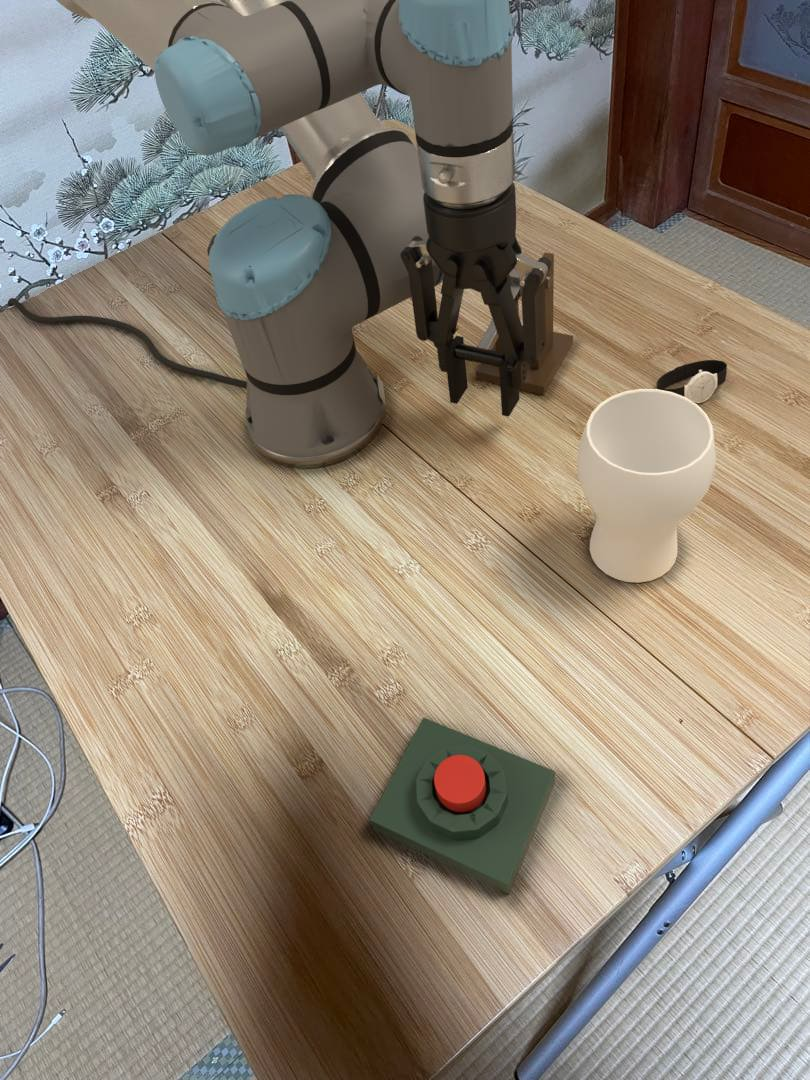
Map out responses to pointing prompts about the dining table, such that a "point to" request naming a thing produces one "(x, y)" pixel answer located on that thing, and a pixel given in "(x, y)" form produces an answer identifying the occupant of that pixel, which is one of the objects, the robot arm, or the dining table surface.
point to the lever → (489, 336)
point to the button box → (474, 836)
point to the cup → (643, 478)
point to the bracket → (549, 358)
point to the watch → (696, 379)
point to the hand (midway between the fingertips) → (484, 400)
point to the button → (460, 783)
